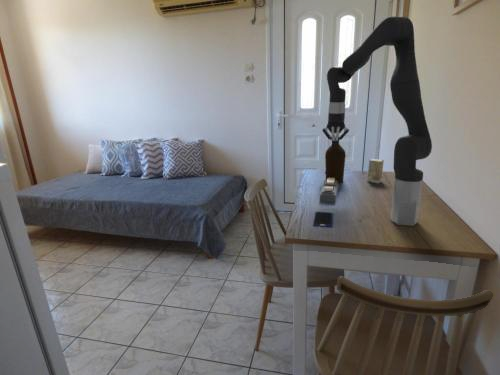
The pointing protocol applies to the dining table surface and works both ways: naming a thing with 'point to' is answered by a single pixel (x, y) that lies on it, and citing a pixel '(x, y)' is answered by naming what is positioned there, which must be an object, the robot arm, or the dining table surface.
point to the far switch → (330, 180)
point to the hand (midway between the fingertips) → (334, 147)
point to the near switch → (328, 188)
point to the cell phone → (323, 219)
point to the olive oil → (335, 163)
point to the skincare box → (375, 170)
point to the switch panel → (329, 192)
